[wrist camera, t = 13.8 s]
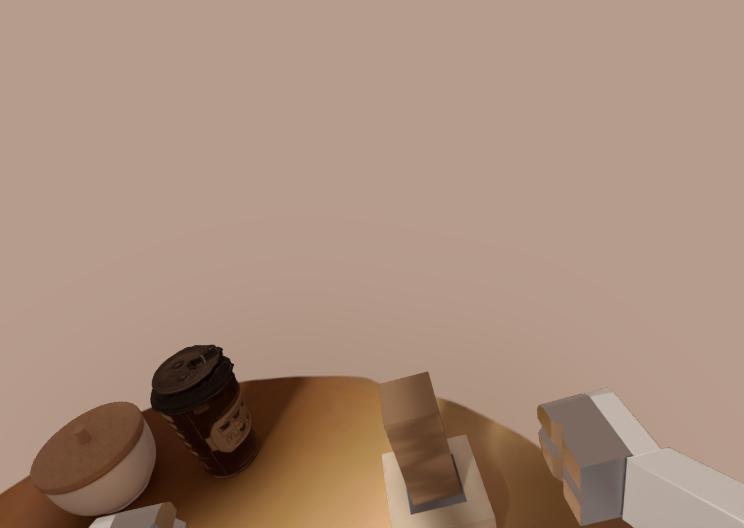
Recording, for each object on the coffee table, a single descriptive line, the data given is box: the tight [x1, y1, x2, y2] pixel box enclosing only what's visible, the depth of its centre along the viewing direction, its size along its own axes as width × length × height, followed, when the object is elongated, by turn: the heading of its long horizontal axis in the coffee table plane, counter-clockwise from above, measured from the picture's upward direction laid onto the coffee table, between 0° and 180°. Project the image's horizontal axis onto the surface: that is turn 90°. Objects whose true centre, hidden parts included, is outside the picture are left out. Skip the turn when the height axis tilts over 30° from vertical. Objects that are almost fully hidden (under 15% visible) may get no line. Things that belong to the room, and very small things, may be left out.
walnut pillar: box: [378, 372, 461, 506], centre depth 36 cm, size 4×4×10 cm
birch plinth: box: [382, 434, 497, 528], centre depth 39 cm, size 8×8×4 cm
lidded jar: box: [30, 402, 156, 516], centre depth 48 cm, size 11×11×9 cm
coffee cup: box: [150, 345, 259, 478], centre depth 48 cm, size 9×8×13 cm
